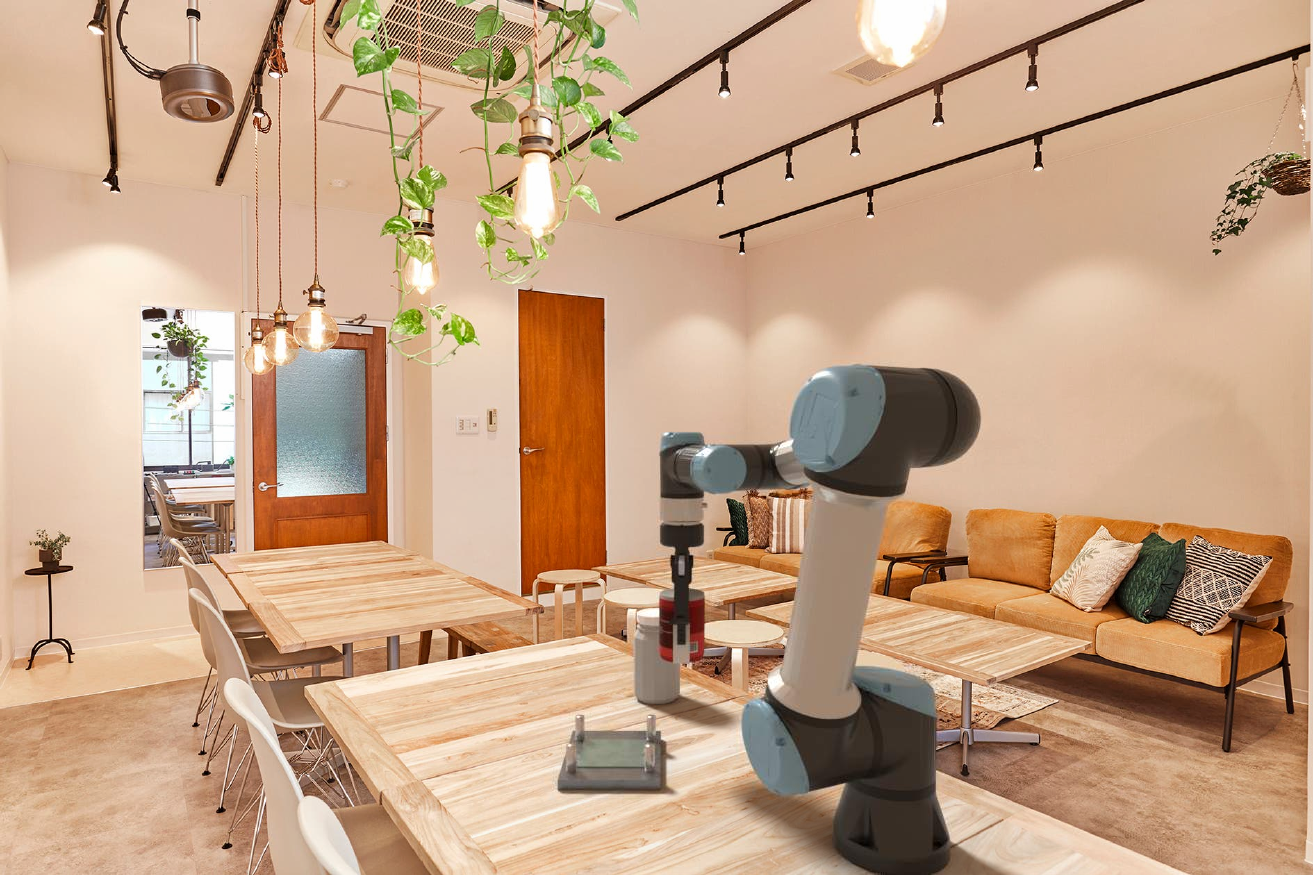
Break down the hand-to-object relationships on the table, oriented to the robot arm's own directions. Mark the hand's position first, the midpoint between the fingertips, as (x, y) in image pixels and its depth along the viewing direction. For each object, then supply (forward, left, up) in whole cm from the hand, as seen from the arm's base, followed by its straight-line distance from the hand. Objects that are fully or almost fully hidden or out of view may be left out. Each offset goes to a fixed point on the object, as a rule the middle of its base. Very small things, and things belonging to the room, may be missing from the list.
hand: (681, 654), depth 132 cm
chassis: (-2, +12, -18) cm, 21 cm away
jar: (+30, +5, -18) cm, 35 cm away
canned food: (0, 0, -1) cm, 1 cm away
